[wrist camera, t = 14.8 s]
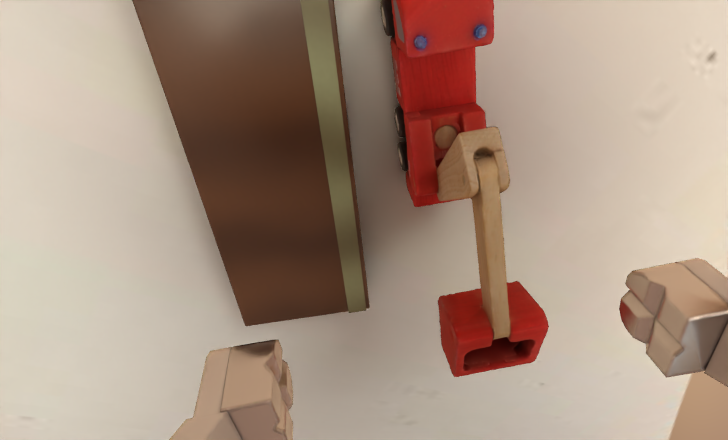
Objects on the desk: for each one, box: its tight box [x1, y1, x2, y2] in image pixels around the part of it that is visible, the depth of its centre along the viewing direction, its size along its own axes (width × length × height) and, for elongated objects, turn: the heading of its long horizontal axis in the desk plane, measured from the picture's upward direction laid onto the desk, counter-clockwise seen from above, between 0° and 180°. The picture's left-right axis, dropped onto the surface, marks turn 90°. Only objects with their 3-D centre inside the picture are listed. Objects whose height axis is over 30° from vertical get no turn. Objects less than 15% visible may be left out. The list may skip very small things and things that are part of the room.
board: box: [132, 0, 369, 326], centre depth 20 cm, size 20×7×2 cm, turn 5°
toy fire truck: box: [381, 0, 549, 377], centre depth 17 cm, size 3×14×10 cm, turn 9°
